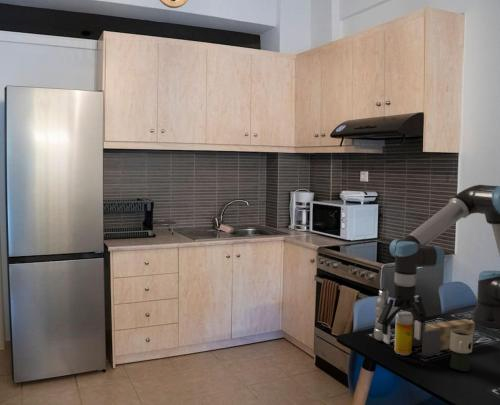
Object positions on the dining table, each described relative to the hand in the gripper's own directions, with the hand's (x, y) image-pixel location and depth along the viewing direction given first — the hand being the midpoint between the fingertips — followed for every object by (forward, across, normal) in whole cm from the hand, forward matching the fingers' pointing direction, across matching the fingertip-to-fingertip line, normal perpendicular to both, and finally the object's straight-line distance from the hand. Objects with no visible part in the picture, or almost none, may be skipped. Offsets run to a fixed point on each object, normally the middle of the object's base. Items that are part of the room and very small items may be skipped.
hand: (401, 340), depth 179 cm
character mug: (+5, -10, +18) cm, 21 cm away
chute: (+4, -10, 0) cm, 11 cm away
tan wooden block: (+5, -22, 0) cm, 23 cm away
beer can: (+5, -1, 0) cm, 5 cm away
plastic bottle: (+5, -1, -13) cm, 14 cm away
